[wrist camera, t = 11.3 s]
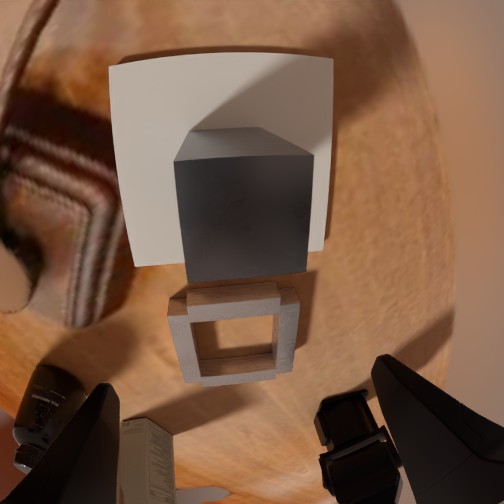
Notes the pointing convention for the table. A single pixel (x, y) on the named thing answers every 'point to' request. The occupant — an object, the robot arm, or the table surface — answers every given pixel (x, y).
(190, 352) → the steel collar
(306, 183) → the metal peg
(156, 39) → the table surface
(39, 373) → the supplement bottle
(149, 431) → the skincare box
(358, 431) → the robot arm
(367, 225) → the table surface
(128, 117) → the pad
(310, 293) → the table surface
